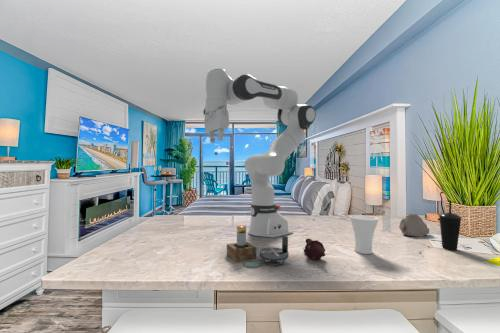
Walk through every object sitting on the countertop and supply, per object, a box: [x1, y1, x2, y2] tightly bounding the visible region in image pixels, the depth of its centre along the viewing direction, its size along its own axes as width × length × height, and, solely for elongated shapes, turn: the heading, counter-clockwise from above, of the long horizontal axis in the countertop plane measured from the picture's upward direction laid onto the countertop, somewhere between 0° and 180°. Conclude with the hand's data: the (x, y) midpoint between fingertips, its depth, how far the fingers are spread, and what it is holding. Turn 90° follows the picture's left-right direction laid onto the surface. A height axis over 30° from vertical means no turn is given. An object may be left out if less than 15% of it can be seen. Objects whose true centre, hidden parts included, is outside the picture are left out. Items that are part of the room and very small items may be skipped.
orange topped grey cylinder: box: [236, 225, 247, 248], centre depth 95 cm, size 3×3×11 cm
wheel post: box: [264, 259, 284, 266], centre depth 90 cm, size 6×6×1 cm
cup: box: [349, 214, 380, 255], centre depth 103 cm, size 10×10×14 cm
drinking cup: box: [438, 200, 463, 252], centre depth 108 cm, size 8×8×20 cm
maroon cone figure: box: [303, 238, 326, 261], centre depth 94 cm, size 7×7×15 cm
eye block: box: [226, 241, 257, 263], centre depth 95 cm, size 8×8×4 cm
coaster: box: [243, 259, 261, 269], centre depth 87 cm, size 6×6×1 cm
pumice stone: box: [398, 213, 430, 237], centre depth 130 cm, size 15×8×10 cm, turn 101°
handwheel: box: [259, 235, 290, 261], centre depth 90 cm, size 10×10×6 cm
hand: (216, 141), depth 109 cm, fingers open, 8 cm apart
